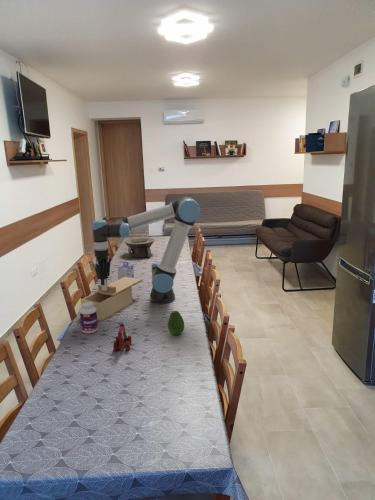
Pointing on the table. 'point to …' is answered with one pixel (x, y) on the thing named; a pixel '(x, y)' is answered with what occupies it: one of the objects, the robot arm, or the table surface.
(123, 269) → the ink cartridge box
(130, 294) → the mailer box
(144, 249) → the bowl
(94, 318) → the pill bottle
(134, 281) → the lid
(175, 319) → the fruit
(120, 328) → the red pointed piece
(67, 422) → the table surface
